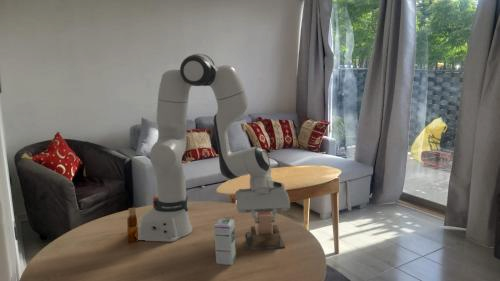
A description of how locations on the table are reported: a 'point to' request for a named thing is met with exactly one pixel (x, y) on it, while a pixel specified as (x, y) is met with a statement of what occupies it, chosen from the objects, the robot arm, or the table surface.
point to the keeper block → (265, 222)
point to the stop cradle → (264, 239)
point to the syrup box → (225, 241)
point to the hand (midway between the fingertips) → (264, 222)
